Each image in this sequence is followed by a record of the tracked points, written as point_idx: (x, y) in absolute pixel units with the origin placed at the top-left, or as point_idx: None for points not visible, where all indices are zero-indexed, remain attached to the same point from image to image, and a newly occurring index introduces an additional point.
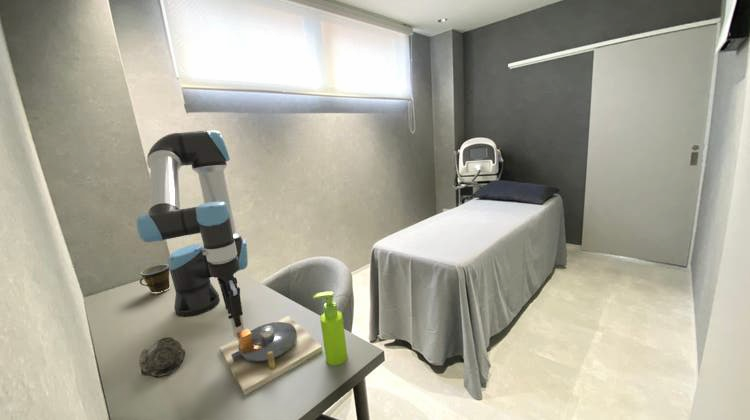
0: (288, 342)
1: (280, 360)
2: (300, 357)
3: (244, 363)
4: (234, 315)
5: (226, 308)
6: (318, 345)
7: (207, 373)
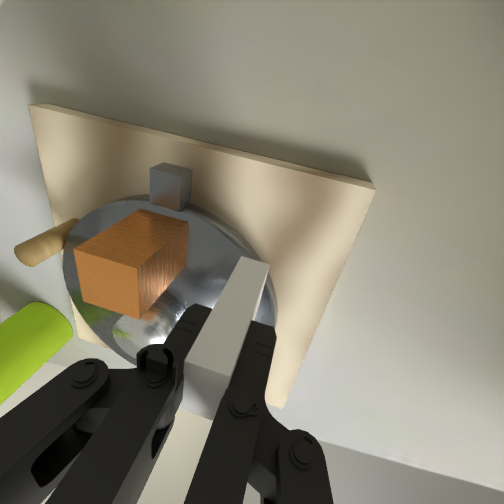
0: (93, 320)
1: None
2: None
3: None
4: (47, 390)
5: (290, 449)
6: (87, 338)
7: (279, 56)
